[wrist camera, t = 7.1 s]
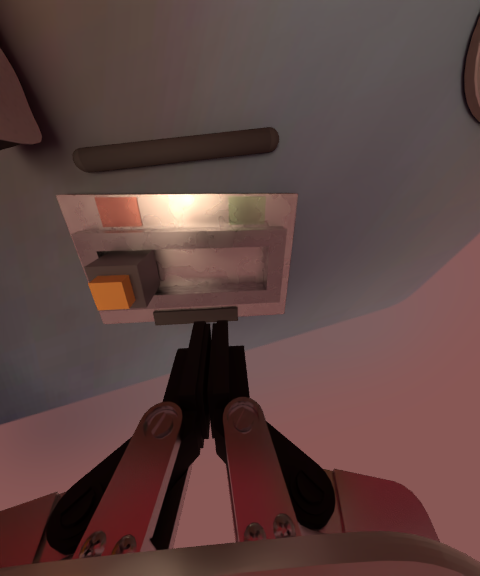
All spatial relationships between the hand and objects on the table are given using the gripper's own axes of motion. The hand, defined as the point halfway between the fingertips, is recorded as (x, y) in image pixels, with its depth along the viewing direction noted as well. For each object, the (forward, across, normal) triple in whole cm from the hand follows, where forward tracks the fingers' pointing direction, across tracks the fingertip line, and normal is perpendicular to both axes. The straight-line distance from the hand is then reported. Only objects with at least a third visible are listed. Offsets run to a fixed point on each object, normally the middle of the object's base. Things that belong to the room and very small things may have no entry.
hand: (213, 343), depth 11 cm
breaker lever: (+13, +9, +1) cm, 15 cm away
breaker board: (+14, +3, +1) cm, 15 cm away
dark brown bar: (+14, +3, +7) cm, 16 cm away
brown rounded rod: (+15, +3, -10) cm, 18 cm away
